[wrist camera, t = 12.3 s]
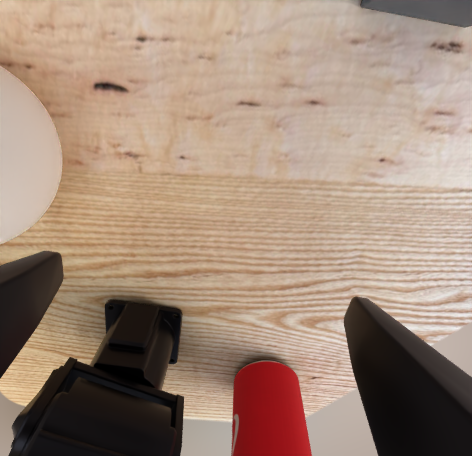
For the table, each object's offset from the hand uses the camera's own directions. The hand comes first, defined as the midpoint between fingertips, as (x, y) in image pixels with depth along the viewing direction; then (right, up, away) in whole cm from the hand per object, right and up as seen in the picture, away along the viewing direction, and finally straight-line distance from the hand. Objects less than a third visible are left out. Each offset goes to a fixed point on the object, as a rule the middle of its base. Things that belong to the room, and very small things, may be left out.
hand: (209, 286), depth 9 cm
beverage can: (+4, -13, +21) cm, 25 cm away
